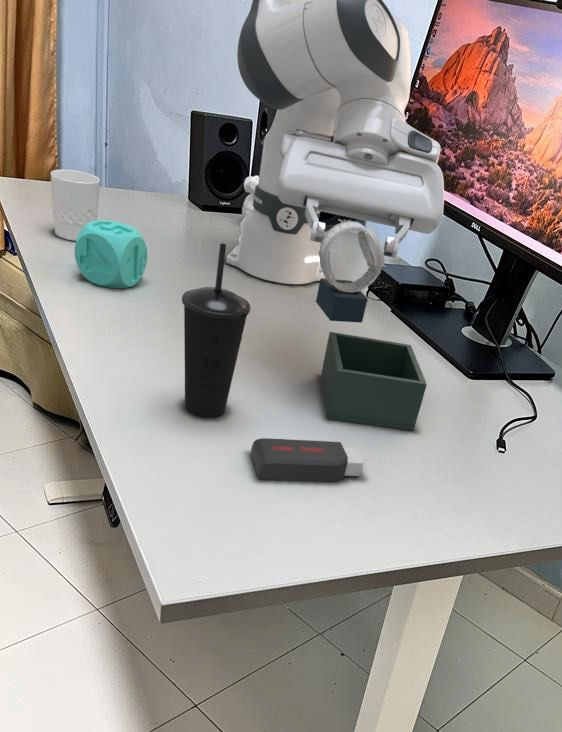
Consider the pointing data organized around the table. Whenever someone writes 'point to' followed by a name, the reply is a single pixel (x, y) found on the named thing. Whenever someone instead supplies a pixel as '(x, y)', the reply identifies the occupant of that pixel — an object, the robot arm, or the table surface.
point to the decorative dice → (111, 254)
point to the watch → (343, 295)
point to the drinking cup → (211, 344)
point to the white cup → (73, 201)
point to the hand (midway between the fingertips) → (354, 247)
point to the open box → (371, 382)
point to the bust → (249, 187)
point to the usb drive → (304, 460)
